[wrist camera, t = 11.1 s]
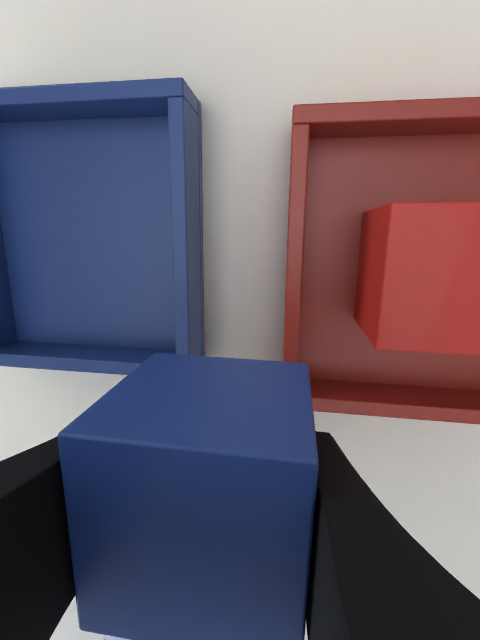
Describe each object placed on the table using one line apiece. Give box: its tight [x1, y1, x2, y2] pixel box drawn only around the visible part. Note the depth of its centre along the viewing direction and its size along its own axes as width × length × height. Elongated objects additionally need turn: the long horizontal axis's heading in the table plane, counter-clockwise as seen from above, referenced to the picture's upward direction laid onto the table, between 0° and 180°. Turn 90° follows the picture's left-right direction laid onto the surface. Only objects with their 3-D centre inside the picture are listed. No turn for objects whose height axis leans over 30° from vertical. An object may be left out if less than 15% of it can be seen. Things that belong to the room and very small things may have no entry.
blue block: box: [58, 353, 319, 640], centre depth 8 cm, size 4×4×4 cm
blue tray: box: [0, 78, 204, 375], centre depth 15 cm, size 11×10×2 cm
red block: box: [354, 201, 480, 356], centre depth 12 cm, size 4×4×4 cm
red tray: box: [283, 97, 480, 424], centre depth 14 cm, size 11×10×2 cm
